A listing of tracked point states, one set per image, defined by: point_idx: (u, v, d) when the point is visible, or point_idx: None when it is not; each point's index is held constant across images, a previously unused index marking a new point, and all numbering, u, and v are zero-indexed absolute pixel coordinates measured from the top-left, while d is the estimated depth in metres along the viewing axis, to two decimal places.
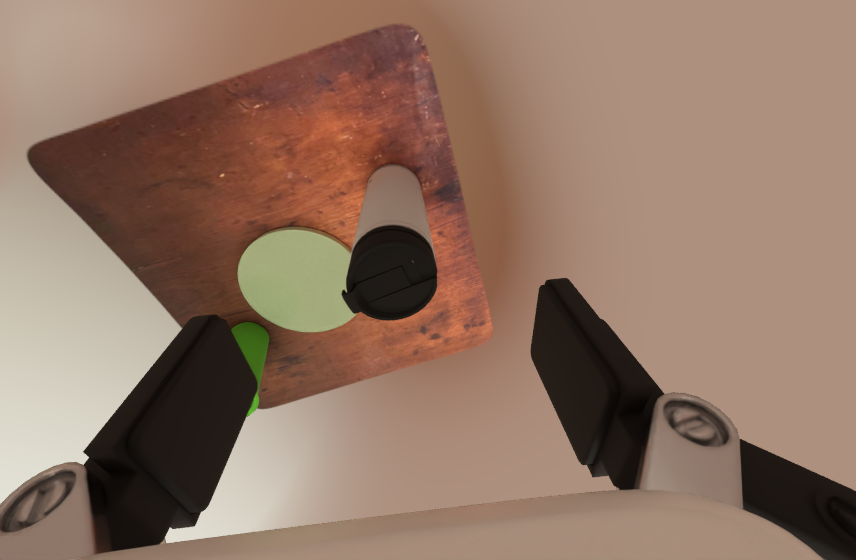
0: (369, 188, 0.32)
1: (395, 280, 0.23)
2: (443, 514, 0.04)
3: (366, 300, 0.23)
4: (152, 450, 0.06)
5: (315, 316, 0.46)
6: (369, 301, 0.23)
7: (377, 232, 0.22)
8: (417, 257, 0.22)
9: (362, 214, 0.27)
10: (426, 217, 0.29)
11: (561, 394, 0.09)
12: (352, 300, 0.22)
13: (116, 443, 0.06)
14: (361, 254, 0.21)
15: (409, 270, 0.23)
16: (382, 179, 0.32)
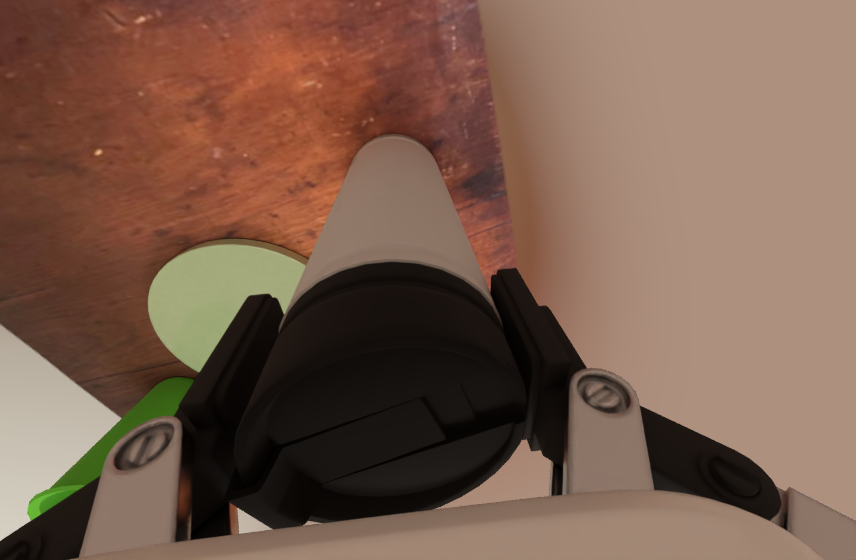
0: (349, 172, 0.17)
1: (401, 432, 0.07)
2: (443, 514, 0.04)
3: (315, 481, 0.08)
4: (232, 408, 0.07)
5: None
6: (325, 481, 0.08)
7: (345, 287, 0.07)
8: (474, 374, 0.07)
9: (325, 224, 0.12)
10: None
11: None
12: (263, 508, 0.07)
13: (206, 398, 0.07)
14: (275, 384, 0.06)
15: (444, 403, 0.07)
16: (372, 154, 0.17)
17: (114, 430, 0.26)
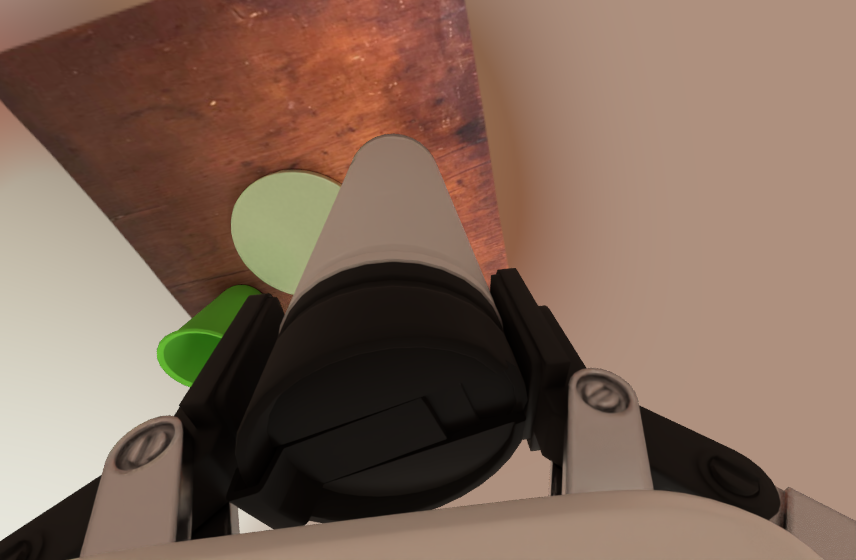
0: (349, 172, 0.17)
1: (402, 432, 0.07)
2: (443, 514, 0.04)
3: (316, 481, 0.08)
4: (233, 408, 0.07)
5: None
6: (326, 481, 0.08)
7: (346, 287, 0.07)
8: (475, 374, 0.07)
9: (325, 224, 0.12)
10: None
11: None
12: (264, 508, 0.07)
13: (207, 398, 0.07)
14: (277, 384, 0.06)
15: (445, 403, 0.07)
16: (372, 154, 0.17)
17: (206, 308, 0.37)
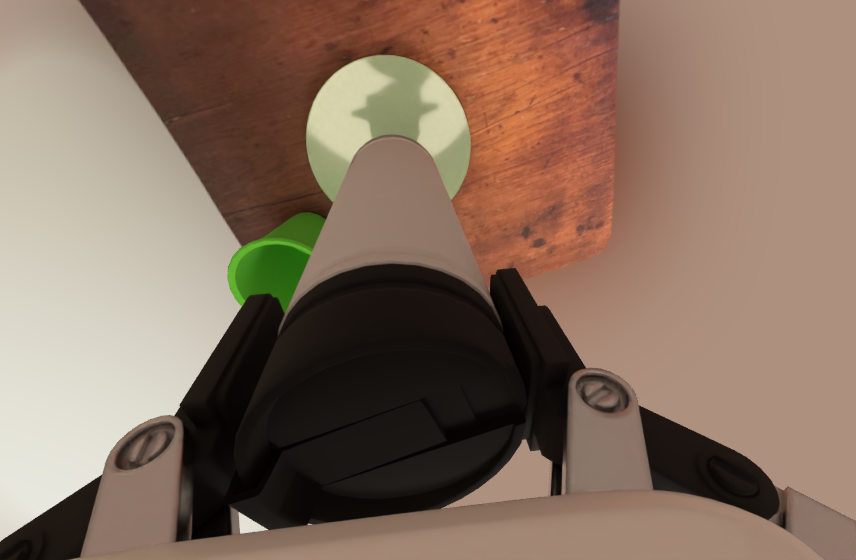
0: (348, 173, 0.17)
1: (402, 434, 0.07)
2: (443, 514, 0.04)
3: (316, 484, 0.08)
4: (233, 408, 0.07)
5: None
6: (325, 484, 0.08)
7: (345, 289, 0.07)
8: (474, 376, 0.07)
9: (324, 225, 0.12)
10: None
11: None
12: (263, 512, 0.07)
13: (207, 398, 0.07)
14: (276, 388, 0.06)
15: (444, 405, 0.07)
16: (371, 155, 0.17)
17: (278, 228, 0.31)
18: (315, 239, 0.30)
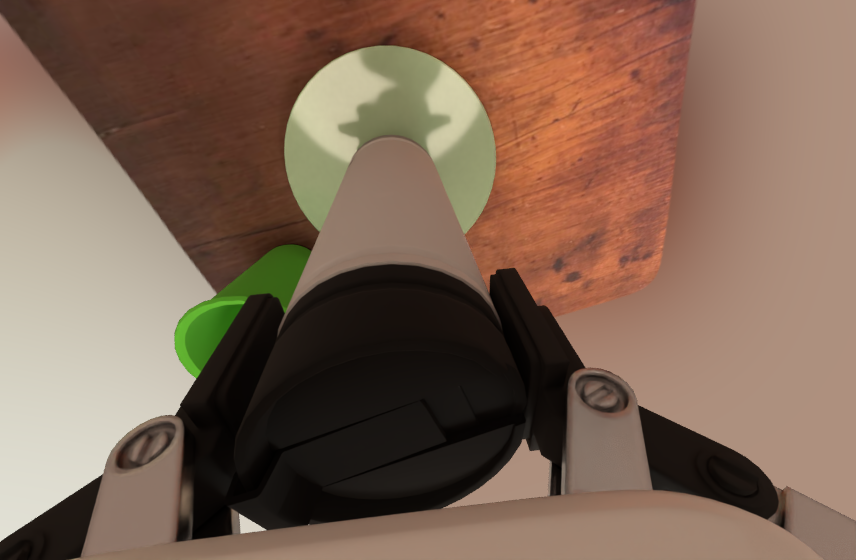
0: (347, 173, 0.17)
1: (402, 435, 0.07)
2: (443, 514, 0.04)
3: (316, 485, 0.08)
4: (234, 407, 0.07)
5: None
6: (325, 484, 0.08)
7: (344, 290, 0.07)
8: (475, 376, 0.07)
9: (323, 225, 0.12)
10: None
11: None
12: (263, 513, 0.07)
13: (208, 398, 0.07)
14: (276, 388, 0.06)
15: (445, 405, 0.07)
16: (370, 155, 0.17)
17: (248, 272, 0.24)
18: (295, 288, 0.23)
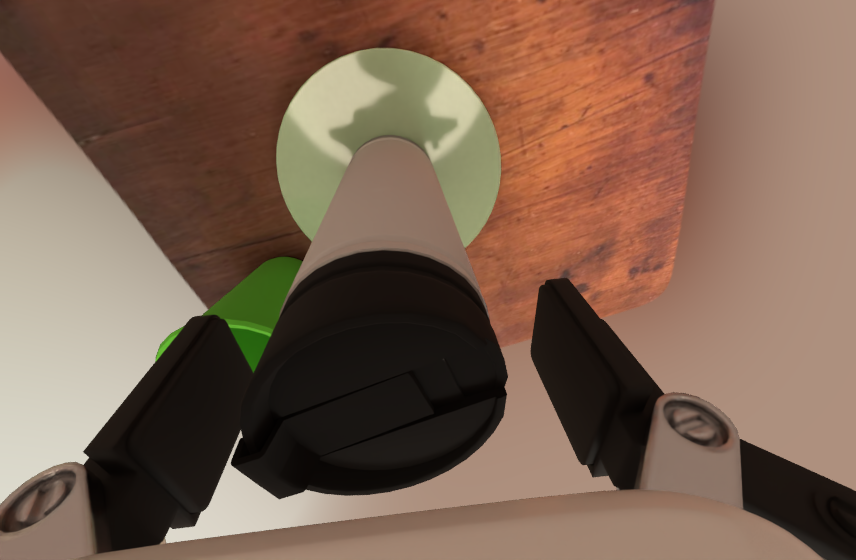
0: (346, 172, 0.18)
1: (392, 406, 0.08)
2: (443, 514, 0.04)
3: (314, 453, 0.09)
4: (152, 450, 0.06)
5: None
6: (323, 454, 0.09)
7: (340, 272, 0.08)
8: (457, 350, 0.07)
9: (323, 219, 0.13)
10: None
11: (561, 394, 0.09)
12: (266, 474, 0.07)
13: (116, 443, 0.06)
14: (277, 356, 0.06)
15: (432, 379, 0.08)
16: (369, 154, 0.18)
17: (237, 289, 0.22)
18: None
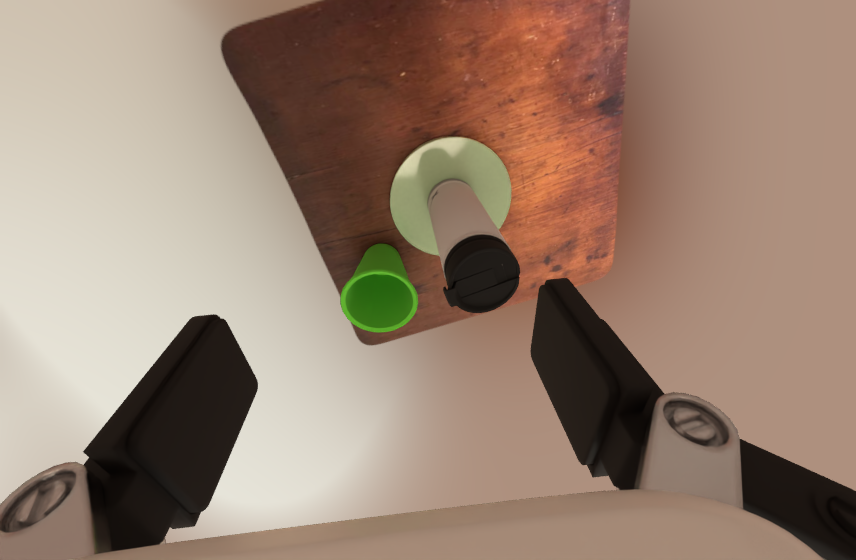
0: (439, 200, 0.37)
1: (486, 280, 0.27)
2: (443, 514, 0.04)
3: (460, 296, 0.28)
4: (152, 450, 0.06)
5: None
6: (462, 296, 0.28)
7: (472, 240, 0.27)
8: (507, 261, 0.27)
9: (444, 224, 0.32)
10: None
11: (561, 394, 0.09)
12: (452, 295, 0.27)
13: (116, 443, 0.06)
14: (465, 258, 0.26)
15: (498, 272, 0.27)
16: (450, 192, 0.37)
17: (370, 258, 0.41)
18: (399, 268, 0.41)
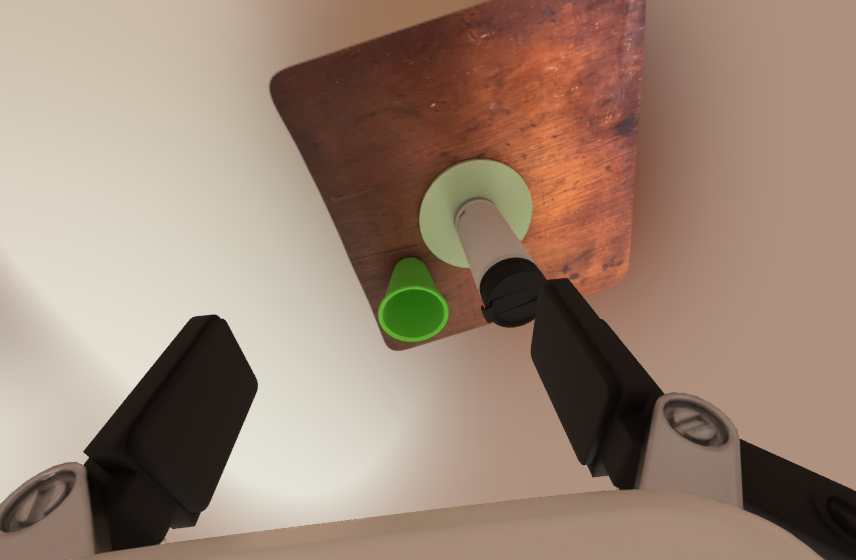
0: (468, 220, 0.40)
1: (519, 298, 0.31)
2: (443, 514, 0.04)
3: (496, 313, 0.31)
4: (152, 450, 0.06)
5: None
6: (497, 313, 0.31)
7: (506, 263, 0.30)
8: (538, 282, 0.30)
9: (476, 245, 0.35)
10: None
11: (561, 394, 0.09)
12: (490, 313, 0.30)
13: (116, 443, 0.06)
14: (502, 280, 0.29)
15: (530, 291, 0.31)
16: (478, 212, 0.40)
17: (403, 273, 0.45)
18: (430, 282, 0.44)
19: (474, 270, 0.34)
